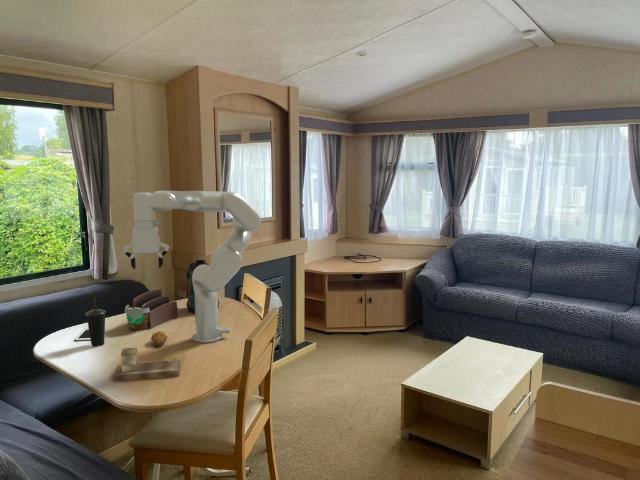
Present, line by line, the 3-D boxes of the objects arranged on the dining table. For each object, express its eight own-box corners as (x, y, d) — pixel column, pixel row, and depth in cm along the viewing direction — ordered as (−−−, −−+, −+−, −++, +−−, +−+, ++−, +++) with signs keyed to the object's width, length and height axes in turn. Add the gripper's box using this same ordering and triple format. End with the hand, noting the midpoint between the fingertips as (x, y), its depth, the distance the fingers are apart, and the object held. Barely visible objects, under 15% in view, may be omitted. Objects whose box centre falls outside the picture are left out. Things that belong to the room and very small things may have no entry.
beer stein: (211, 315, 245) (209, 265, 241) (175, 312, 250) (172, 263, 246) (225, 305, 261) (223, 258, 257) (191, 303, 266) (189, 257, 262)
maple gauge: (137, 366, 179) (136, 347, 178) (136, 371, 175) (134, 352, 174) (124, 367, 178) (122, 348, 177) (122, 372, 174) (120, 353, 173)
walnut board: (180, 364, 186) (180, 359, 185) (179, 375, 176) (179, 370, 176) (117, 370, 181) (117, 364, 180) (112, 381, 171) (112, 376, 171)
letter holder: (133, 326, 229) (131, 296, 226) (161, 314, 247) (160, 286, 245) (150, 329, 225) (149, 298, 223) (178, 316, 243) (177, 288, 241)
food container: (119, 329, 224) (117, 308, 222) (129, 325, 229) (127, 304, 228) (141, 333, 219) (140, 311, 218) (150, 328, 225) (149, 307, 223)
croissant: (152, 337, 214) (151, 326, 213) (168, 336, 216) (168, 325, 215) (149, 349, 201) (149, 337, 200) (167, 347, 203) (166, 335, 202)
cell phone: (74, 342, 209) (73, 340, 209) (85, 330, 224) (85, 328, 224) (93, 341, 210) (93, 339, 210) (103, 329, 225) (103, 327, 225)
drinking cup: (95, 349, 201) (91, 301, 197) (83, 345, 205) (80, 298, 201) (112, 343, 207) (108, 296, 204) (100, 339, 211) (97, 293, 208)
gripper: (169, 222, 199) (170, 265, 201) (122, 223, 195) (125, 266, 198) (167, 225, 192) (169, 268, 194) (119, 226, 188) (122, 271, 190)
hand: (147, 267), depth 196 cm, fingers open, 9 cm apart
